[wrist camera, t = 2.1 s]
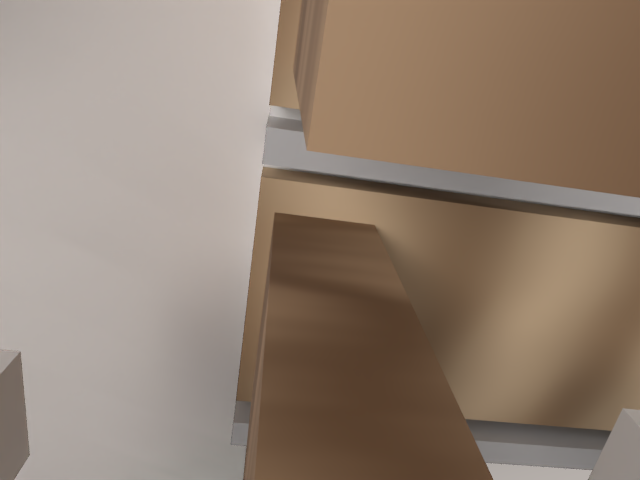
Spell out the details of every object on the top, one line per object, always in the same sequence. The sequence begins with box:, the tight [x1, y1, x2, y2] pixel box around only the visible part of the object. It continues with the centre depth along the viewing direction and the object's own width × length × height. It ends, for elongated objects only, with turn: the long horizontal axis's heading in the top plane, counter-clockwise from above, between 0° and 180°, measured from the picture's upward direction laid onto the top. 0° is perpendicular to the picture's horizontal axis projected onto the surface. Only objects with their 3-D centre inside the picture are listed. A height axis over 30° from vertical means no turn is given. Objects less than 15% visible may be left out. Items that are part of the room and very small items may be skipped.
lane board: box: [231, 105, 640, 470], centre depth 16 cm, size 24×21×3 cm
